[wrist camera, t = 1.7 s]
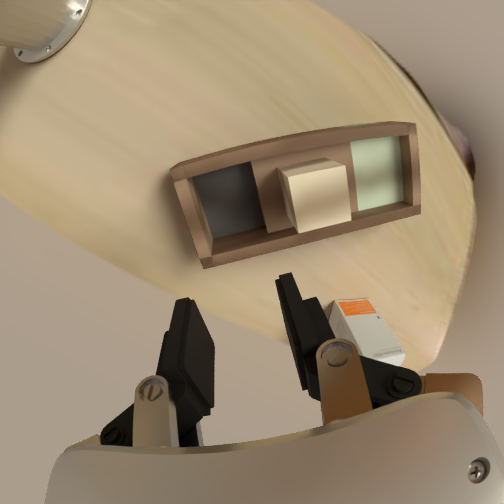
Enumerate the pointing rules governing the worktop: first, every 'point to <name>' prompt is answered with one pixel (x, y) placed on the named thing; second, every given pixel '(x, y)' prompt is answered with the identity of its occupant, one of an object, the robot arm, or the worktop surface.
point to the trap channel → (270, 193)
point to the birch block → (315, 193)
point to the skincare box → (366, 330)
